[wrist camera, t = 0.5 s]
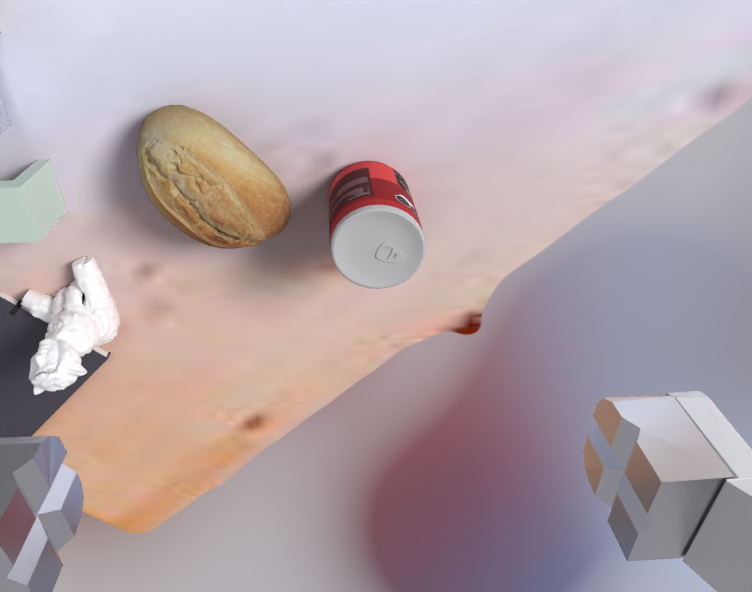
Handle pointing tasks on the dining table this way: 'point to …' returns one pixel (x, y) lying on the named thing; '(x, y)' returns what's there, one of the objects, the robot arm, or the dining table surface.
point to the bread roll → (209, 180)
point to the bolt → (3, 117)
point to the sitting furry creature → (71, 326)
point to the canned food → (374, 226)
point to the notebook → (12, 367)
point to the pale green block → (30, 204)
